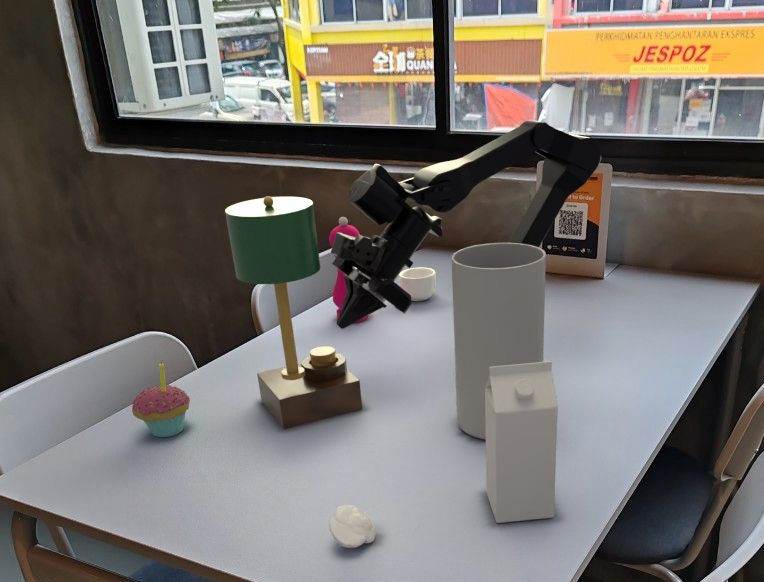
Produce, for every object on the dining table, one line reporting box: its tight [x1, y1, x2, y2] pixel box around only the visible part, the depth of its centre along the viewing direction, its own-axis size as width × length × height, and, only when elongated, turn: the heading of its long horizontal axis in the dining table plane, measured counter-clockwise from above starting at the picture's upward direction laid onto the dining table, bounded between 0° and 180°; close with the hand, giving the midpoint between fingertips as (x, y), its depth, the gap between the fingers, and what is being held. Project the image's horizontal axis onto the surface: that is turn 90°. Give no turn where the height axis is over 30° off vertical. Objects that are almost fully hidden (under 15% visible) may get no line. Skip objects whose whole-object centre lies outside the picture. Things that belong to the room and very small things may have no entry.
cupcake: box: [131, 358, 191, 438], centre depth 125 cm, size 9×8×12 cm
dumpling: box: [328, 504, 377, 549], centre depth 98 cm, size 7×5×4 cm
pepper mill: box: [328, 216, 369, 324], centre depth 162 cm, size 7×7×20 cm
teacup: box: [398, 267, 437, 302], centre depth 175 cm, size 10×8×5 cm
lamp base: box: [256, 352, 363, 430], centre depth 131 cm, size 13×12×7 cm
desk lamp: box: [224, 195, 321, 380], centre depth 119 cm, size 12×12×26 cm
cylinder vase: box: [451, 242, 547, 441], centre depth 116 cm, size 12×12×25 cm
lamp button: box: [309, 345, 336, 367], centre depth 130 cm, size 4×4×2 cm
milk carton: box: [485, 360, 559, 524], centre depth 98 cm, size 7×7×19 cm
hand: (339, 327), depth 128 cm, fingers closed
